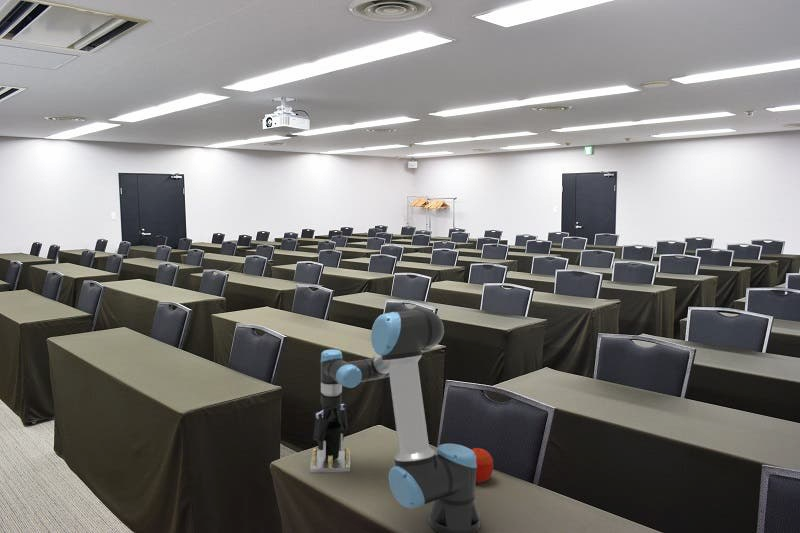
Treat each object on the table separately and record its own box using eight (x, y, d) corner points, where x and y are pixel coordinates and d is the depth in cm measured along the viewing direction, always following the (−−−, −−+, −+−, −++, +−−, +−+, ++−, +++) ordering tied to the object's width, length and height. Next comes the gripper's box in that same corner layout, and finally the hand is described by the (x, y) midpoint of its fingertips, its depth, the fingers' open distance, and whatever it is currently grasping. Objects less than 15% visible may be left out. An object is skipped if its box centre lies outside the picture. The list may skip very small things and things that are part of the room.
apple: (497, 478, 196) (498, 446, 195) (484, 490, 187) (486, 457, 186) (470, 470, 201) (472, 439, 200) (457, 481, 193) (458, 449, 192)
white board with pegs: (350, 471, 198) (350, 456, 198) (310, 472, 197) (310, 457, 196) (350, 454, 212) (350, 440, 212) (312, 455, 211) (312, 441, 210)
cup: (316, 459, 202) (316, 427, 200) (325, 451, 209) (325, 420, 208) (336, 462, 200) (336, 430, 198) (344, 454, 207) (344, 422, 206)
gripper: (344, 384, 212) (343, 442, 214) (302, 397, 196) (302, 460, 199) (358, 388, 207) (358, 447, 210) (316, 402, 192) (316, 466, 194)
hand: (330, 453), depth 204 cm, fingers closed on cup, 8 cm apart
